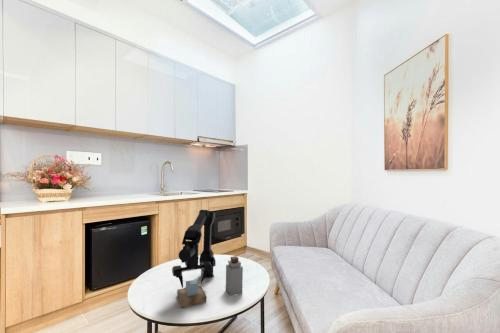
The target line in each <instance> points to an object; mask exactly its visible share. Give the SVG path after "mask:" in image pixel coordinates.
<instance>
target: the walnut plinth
mask: <svg viewBox="0 0 500 333" xmlns="http://www.w3.org/2000/svg"><path fill="white" fill-rule="evenodd" d="M176 292H177V293H176V294H177V295H176V296H177V299H178V302H179V305H180V309H184V308H187V307H193V306H197V305H201V304H205V303H207V298H208V297H207V294H206V293H205V290H204V289H203V287H202V284H200V285H199V284H198V294H196V295H191V296H187V293H186V287H183V288H179V289H177V291H176Z"/></svg>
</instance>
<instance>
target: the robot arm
mask: <svg viewBox="0 0 500 333" xmlns="http://www.w3.org/2000/svg"><path fill="white" fill-rule="evenodd" d="M215 219H216V212H214V210H208V209H200V210H199V211H198V215H197V217H196V219H195V221H194V222H193V223H192V225H190V226H188V227H187V229H186V230H185V232H184V234H183V239H182V242H181V245H183V246H182V248H181V250H180V251H179V253H178V258H179V260H180V262H181V263H182V264H183V263H184V265H185V266H183V267H182V265H175V266H172V268H171V273H172V276H173V277H175V278H177V279H179V282H180V286H181V289H183V288H184V278H183V272H190V271H195V270H200V277H199V279H200V280H199V281H200V283H199V284H200V285H203V281H204V279H208V278H209V279H210V278H213V277H215V275H214V267H216V265H217V264H216V258H215V256H214V252H213V250H212V233H213V232H212V229H213V228H212V226H213V224H214V223H215ZM202 228H203V234H202ZM202 235H203V236H202ZM202 237H203V248H202V251H201V253H200V255H199V243H200V242H201V239H202Z"/></svg>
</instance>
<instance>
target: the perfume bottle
mask: <svg viewBox="0 0 500 333" xmlns="http://www.w3.org/2000/svg"><path fill="white" fill-rule="evenodd" d="M241 264H242V262H241V261H240V260H239V257H238V256H236V255H235V256H230V259H229V260H227V264H225V291H226V292H227V294H228V296H230V297H232V296H236V295H240V294H243V282H244V281H243V280H244V279H243V278H244V277H243V276H244V275H243V274H244V271H243V270H244V268H243V265H241Z"/></svg>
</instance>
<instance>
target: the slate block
mask: <svg viewBox="0 0 500 333" xmlns="http://www.w3.org/2000/svg"><path fill="white" fill-rule="evenodd" d="M198 285H199V283H198V281H197V279H192V280H187V281H185V288H186V293H187V296H191V295H196V294H198Z"/></svg>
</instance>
